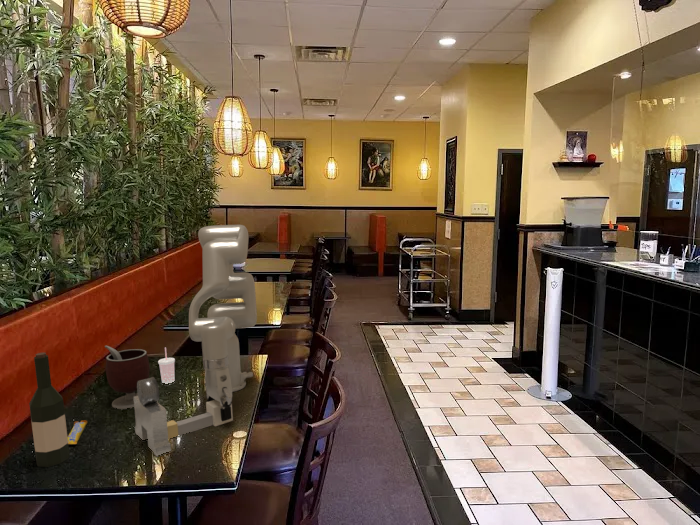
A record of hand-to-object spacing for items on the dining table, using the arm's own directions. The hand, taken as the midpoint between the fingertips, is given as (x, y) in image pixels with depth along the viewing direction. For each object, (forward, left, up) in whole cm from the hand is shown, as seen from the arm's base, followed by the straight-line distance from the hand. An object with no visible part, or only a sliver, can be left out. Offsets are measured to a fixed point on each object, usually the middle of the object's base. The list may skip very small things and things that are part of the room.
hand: (219, 414), depth 161 cm
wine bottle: (+45, -9, -2) cm, 46 cm away
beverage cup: (0, -46, -2) cm, 46 cm away
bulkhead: (+21, 0, -2) cm, 21 cm away
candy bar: (+37, -22, -3) cm, 43 cm away
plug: (+7, 0, -2) cm, 8 cm away
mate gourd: (+17, -37, -2) cm, 41 cm away
